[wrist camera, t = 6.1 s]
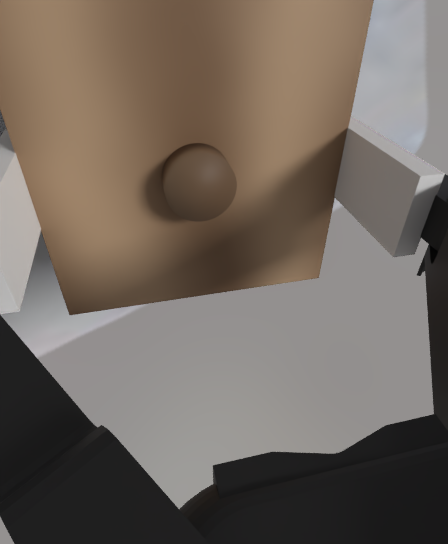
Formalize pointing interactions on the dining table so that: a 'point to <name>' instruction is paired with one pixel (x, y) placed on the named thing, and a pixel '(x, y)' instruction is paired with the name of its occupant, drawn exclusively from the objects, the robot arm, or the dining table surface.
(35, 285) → the dining table surface
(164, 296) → the lid
